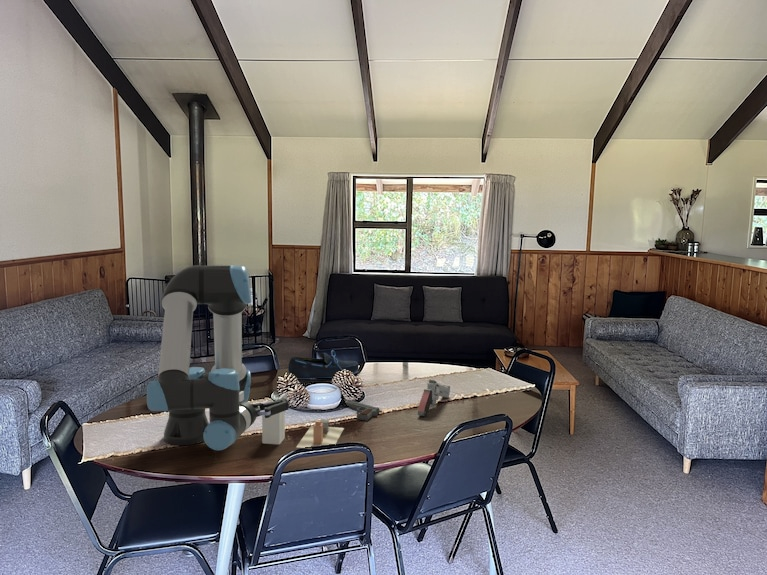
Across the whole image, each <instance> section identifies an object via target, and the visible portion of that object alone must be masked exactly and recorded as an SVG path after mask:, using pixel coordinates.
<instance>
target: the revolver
mask: <svg viewBox="0 0 767 575" xmlns="http://www.w3.org/2000/svg"><path fill="white" fill-rule="evenodd" d="M426 384H427V387H426V388H424V389H423V393H422V396H421V398H420V400H419V406H418V407H417V408H418V409H417V415H418V416H421V417H427V416H428V413H429V412H430V411H429V410H430V409H431V408H430V407H435V406H436V404H437V401H439V398H440V397H441V398H445V399H448V398H449V396H450V393H451V386H450V385H442V384H439V383H438V382H437V381H436V380H434V379H428V382H426Z"/></svg>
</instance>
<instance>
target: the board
mask: <svg viewBox="0 0 767 575" xmlns="http://www.w3.org/2000/svg"><path fill="white" fill-rule="evenodd" d="M320 420H321V423H323V442H322V443H321V444H316V443H313V426H314V425H311V426H309V428H308V430H307V431H306V432H305V434H304V435H303V437H302V438H301V439H300V441H299V442H298V443H297V445H296V448H298V449H300V448H301V449H306V448H305V447H311V446H321V445H329V444H335V445H336V444H337V442H338V441H339V439H340V437H341V435H342V433H343V431H344V430H345V428H344V427H335V426H329V424H330V423H329V422H330V421H329V419H320Z"/></svg>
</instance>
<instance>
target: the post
mask: <svg viewBox="0 0 767 575" xmlns="http://www.w3.org/2000/svg"><path fill="white" fill-rule="evenodd" d="M321 420H322V419H316V420H315V423H314V424H313V425H312V426H313V443H316V444H321V443H322V442H323V423H321Z"/></svg>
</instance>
